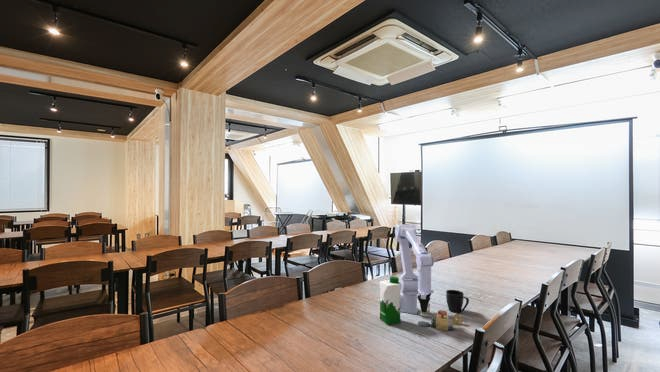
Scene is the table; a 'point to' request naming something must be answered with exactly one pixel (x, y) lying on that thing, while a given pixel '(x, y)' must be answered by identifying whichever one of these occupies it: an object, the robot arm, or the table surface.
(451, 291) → the mug
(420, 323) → the pad
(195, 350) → the table surface
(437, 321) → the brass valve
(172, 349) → the table surface
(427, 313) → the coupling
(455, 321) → the elbow
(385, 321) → the milk carton
